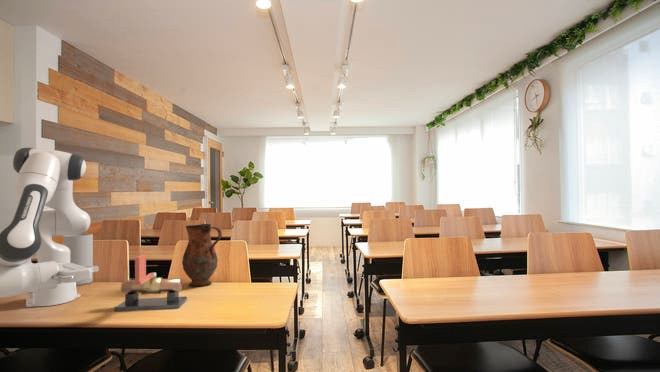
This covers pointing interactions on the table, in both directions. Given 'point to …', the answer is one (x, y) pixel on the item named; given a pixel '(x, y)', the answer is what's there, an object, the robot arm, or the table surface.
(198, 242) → the pitcher
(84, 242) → the cylinder vase
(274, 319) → the table surface
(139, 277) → the valve lever
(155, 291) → the valve
